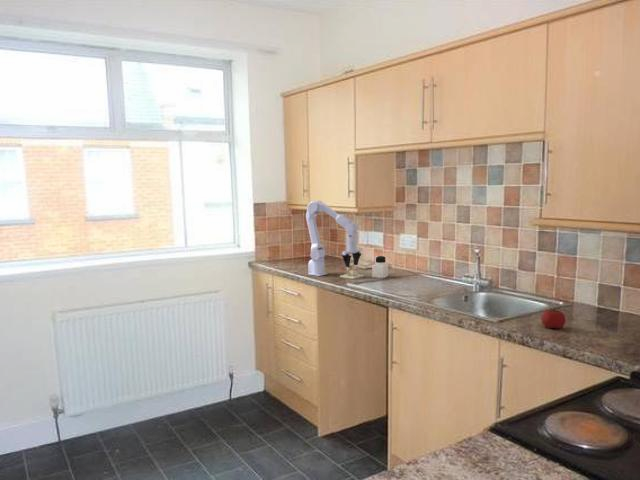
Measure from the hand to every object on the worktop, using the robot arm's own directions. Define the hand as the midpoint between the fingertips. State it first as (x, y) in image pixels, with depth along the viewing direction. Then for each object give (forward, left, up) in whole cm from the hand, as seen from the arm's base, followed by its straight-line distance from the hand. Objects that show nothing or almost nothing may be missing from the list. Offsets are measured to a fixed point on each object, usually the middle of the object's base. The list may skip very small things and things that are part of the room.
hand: (351, 266), depth 291 cm
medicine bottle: (+13, +10, -7) cm, 18 cm away
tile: (0, 0, -6) cm, 6 cm away
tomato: (+122, -34, -7) cm, 127 cm away
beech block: (0, 0, -5) cm, 5 cm away
